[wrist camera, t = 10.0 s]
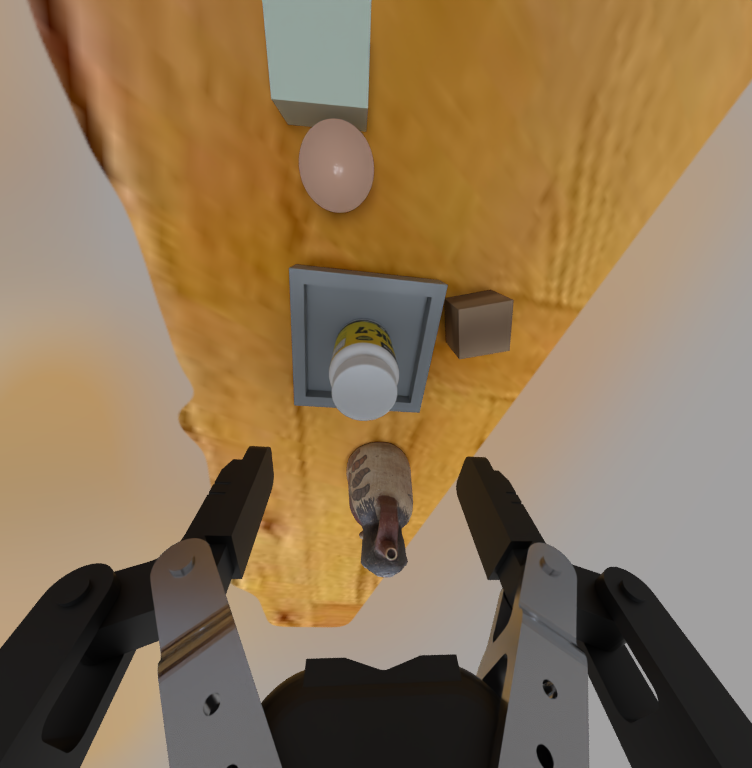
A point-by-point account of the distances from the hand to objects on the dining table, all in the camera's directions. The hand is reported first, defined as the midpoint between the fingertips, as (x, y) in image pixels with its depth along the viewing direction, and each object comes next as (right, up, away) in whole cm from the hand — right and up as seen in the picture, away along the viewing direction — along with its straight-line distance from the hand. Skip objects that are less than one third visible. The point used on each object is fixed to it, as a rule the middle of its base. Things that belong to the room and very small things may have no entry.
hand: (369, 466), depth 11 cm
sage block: (-3, +22, +6) cm, 23 cm away
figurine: (0, -6, +21) cm, 22 cm away
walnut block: (+8, +9, +13) cm, 18 cm away
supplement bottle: (-1, +7, +13) cm, 14 cm away
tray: (-1, +7, +13) cm, 15 cm away
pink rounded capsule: (-2, +18, +8) cm, 19 cm away
